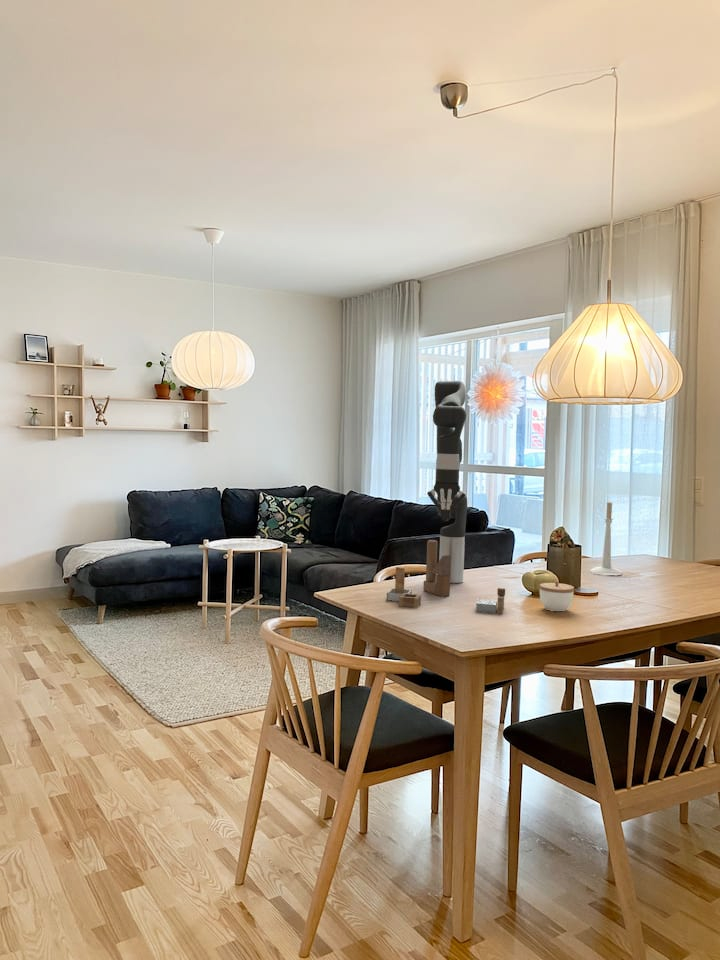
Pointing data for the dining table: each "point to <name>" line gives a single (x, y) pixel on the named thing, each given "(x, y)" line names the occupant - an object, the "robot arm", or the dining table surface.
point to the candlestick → (607, 546)
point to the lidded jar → (556, 596)
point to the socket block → (410, 600)
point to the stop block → (500, 600)
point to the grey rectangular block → (486, 606)
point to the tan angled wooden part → (437, 571)
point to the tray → (394, 596)
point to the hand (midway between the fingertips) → (445, 520)
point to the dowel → (399, 580)
